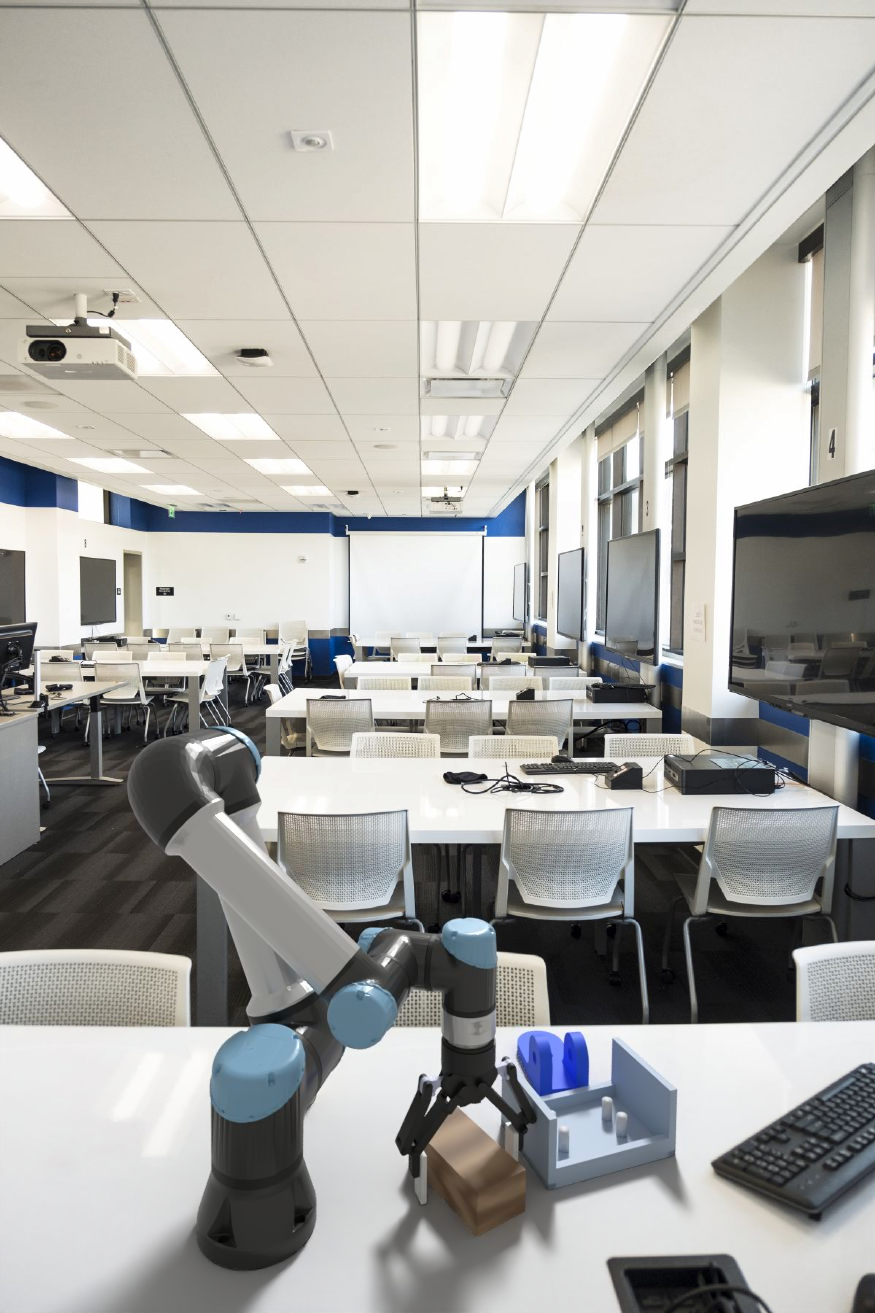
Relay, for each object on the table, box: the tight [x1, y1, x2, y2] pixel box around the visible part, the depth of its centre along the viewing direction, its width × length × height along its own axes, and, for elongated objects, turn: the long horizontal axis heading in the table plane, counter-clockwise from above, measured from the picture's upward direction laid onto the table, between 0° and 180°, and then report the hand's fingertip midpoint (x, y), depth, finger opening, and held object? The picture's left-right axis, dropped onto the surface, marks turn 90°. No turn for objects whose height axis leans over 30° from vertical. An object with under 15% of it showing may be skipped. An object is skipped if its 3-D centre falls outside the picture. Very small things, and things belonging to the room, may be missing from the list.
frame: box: [500, 1036, 678, 1191], centre depth 117 cm, size 21×15×10 cm
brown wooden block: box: [424, 1106, 527, 1238], centre depth 107 cm, size 16×8×6 cm, turn 34°
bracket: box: [516, 1030, 590, 1097], centre depth 136 cm, size 18×8×9 cm, turn 9°
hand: (466, 1185), depth 108 cm, fingers open, 13 cm apart
